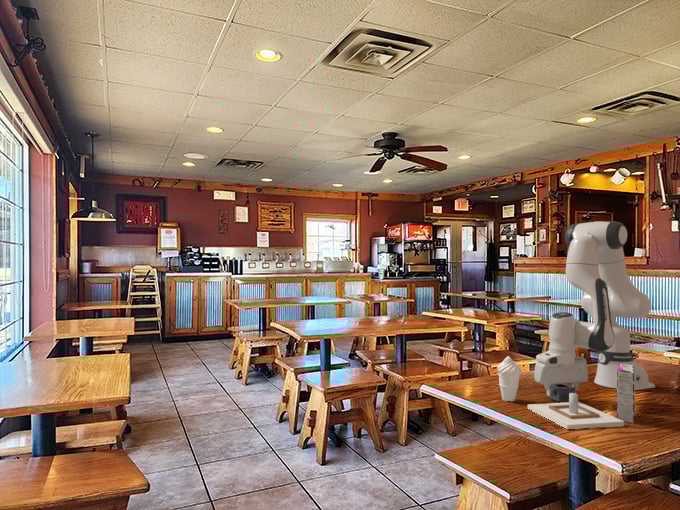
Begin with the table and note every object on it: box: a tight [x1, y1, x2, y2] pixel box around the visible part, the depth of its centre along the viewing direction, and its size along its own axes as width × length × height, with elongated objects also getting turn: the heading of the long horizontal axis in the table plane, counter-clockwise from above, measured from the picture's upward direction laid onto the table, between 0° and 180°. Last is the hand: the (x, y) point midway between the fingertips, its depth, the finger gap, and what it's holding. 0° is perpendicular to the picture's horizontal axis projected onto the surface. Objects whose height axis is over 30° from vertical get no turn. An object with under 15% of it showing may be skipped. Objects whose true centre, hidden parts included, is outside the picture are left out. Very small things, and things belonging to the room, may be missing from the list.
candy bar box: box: [616, 364, 636, 424], centre depth 153 cm, size 11×5×16 cm, turn 148°
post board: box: [527, 392, 625, 430], centre depth 153 cm, size 20×20×8 cm
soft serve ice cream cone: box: [496, 355, 522, 403], centre depth 170 cm, size 8×8×16 cm
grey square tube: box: [546, 383, 575, 403], centre depth 172 cm, size 7×7×5 cm
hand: (561, 394), depth 172 cm, fingers open, 8 cm apart
